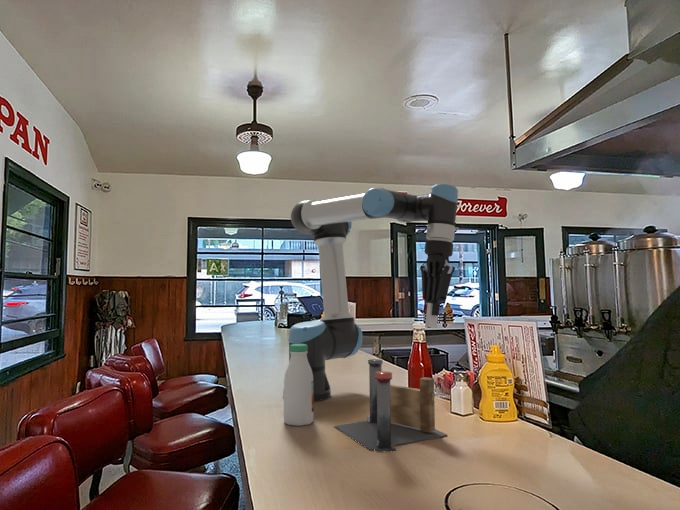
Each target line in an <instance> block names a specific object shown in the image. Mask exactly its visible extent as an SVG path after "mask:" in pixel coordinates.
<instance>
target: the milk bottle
mask: <svg viewBox="0 0 680 510" xmlns="http://www.w3.org/2000/svg"><path fill="white" fill-rule="evenodd" d="M307 350H308V346H307V345H306V344H292V345H290V353H291V358H290V362H289V361H288V365H287V367H286V369H285V373H284V379H283V390H284V397H283V422H284V423H285V424H286V425H288V426H296V427H300V426H301V427H302V426H308V425H310V424H312V423H313V422H314V413H315V412H314V411H315V409H314V404H315V403H314V402H315V401H314V394H313V373H312V370H311V367H310V365H309V363H308V359H307V353H308V352H307Z"/></svg>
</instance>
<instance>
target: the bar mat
mask: <svg viewBox="0 0 680 510" xmlns="http://www.w3.org/2000/svg"><path fill="white" fill-rule="evenodd" d="M334 428H335V429H336V430H338V431H340V432H341V433H342V434H343V435H346V436H347V437H349V438H350V437H351V438H350V439H352V438H353V439H354V440H353V439H352V440H353V441H355V440H356V441H357V443H358V442H359V443H360V444H359V443H358V444H359V445H361V444H362V445H363V446H362V445H361V446H362V447H364V446H365V447H366V448H365V447H364V448H365V449H367V450H368V449H369V450H368V451H370V450H372V451H375V450H374V449H375V448H374V444H373V442H377V423H368V421H367V420H363V421H358V422H349V423H344V424H338V425H334ZM445 437H448V434H447V433H445V432H443V431H440V430H438V429H436V428H435V430H434V431H432V432H430V433H429V432H424V431H421V429H418V428H414V427H409V426H405V425H400V424H396V423H391V442H393V443H394V446H395V447H397V446H396V445H398V446H402V445H401V444H403V445H407V444H406V443H409V444H412V442H414V443H418V442H424V441H430V440H433V439H434V440H435V439H439V438H445ZM356 441H355V442H356Z"/></svg>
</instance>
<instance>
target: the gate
mask: <svg viewBox="0 0 680 510" xmlns="http://www.w3.org/2000/svg"><path fill="white" fill-rule="evenodd" d="M390 392H391V423H396V424H400V425H405V426H409V427H414V428H418V429H421V431H424V432H429V433H430V432H432V431H434V430H435V429H436V417H435V415H436V414H435V378H433V377H428V376H427V377H425V376H424V377H421V378H419V388H414V387H409V386H408V387H407V386H401V385H396V384H390Z"/></svg>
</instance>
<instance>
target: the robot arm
mask: <svg viewBox="0 0 680 510" xmlns="http://www.w3.org/2000/svg"><path fill="white" fill-rule="evenodd" d="M458 194H459V190H458V188H457V187H456V186H455V185H451V184H446V183H436V184H433V185H432V186H431V188H430V191H429V193H428V194H427V193H426V194H418V195H414V194H409V193H405V192H400V191H395V190H390V189H385V188H384V187H383V188H382V187H379V188H378V187H372V188H370V189H368V190H367V191H366V192H364V193H360V194H355V195H354V194H353V195H349V196H342V197H337V198H331V199H325V200H321V201H318V200H315V199H309V200H308V199H307V200H302V201H299V202H298V203H296V204H295V205H294V206H293V208H292V210H291V213H290V221H291V224H292V226H293V227H294V229H295V230H296V231H297V232H299V233H301V234H304V235H308V236H313V237H312V238H313V243H314V245H316V246H317V247H318V256H319V268H320V282H321V290H322V291H321V293H322V294H321V295H322V302H323V303H322V305H323V306H322V307H323V315H322V317H321V318H320V320H310V321H303V322H298V323H295V324H293V325H292V326H291V327H290V328H289V332H288V333H289V334H288V340H287V341H288V363H289V362H290V358H291V353H290V345H292V344H306V345H307V346H308V350H307V352H308V353H307V359H308V363H309V365H310V367H311V370H312V373H313V394H314V402H320V401H324V400H327V399H329V398H330V397H332V394H331V393H332V391H331V386H330V383H329V379H328V376H327V373H326V361H329V360H336V359H346V358H348V357H353V356H355V355H356V354H357V353H358V352H359V350H360V349H361V347H362V344H363V331H362V329H361V327H360V325H358V324H357V323H356V322H355V317H354V316H353V315H352V313H350V310H349V299H348V290H347V279H346V268H345V267H346V265H345V257H344V246H343V245H344V243H346V241H347V237H348V236H349V234H350V232H351V229H352V224H353V222H357V221H365V220H372V219H373V220H374V219H383V218H385V219H393V220H397V221H398V222H401V223H403V222H404V223H413V222H424V221H426V222H427V227H426V236H425V238H426V239H427V240H426V241H425V242H424V243H425V244H424V254H425V255H427V258H426V262H425V264H424V265H420V268H419V269H420V272H421V295H422V296H421V297H422V300H424V301H425V302H426V312H425V314H426V316H425V325H424V326H425V328H433V329H437V327H438V321H439V320H438V317H439V314H440V306H441V305H440V304H442V303H444V302H446V300H447V296H448V293H449V289H450V284H451V282H452V281H451V280H452V277H453V274H454V273H455V269H456V267H455V266H452V265H451V264H450V259H449V258H451V257H452V256H453V255H454V254H453V253H454V252H453V251H454V244H453V243H454V242H453V241H455V232H456V218H457V210H458V204H459V202H458V201H459V200H458V199H459V195H458ZM282 391H283V394H282V396H283V398H284V389H283V390H282Z"/></svg>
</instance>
